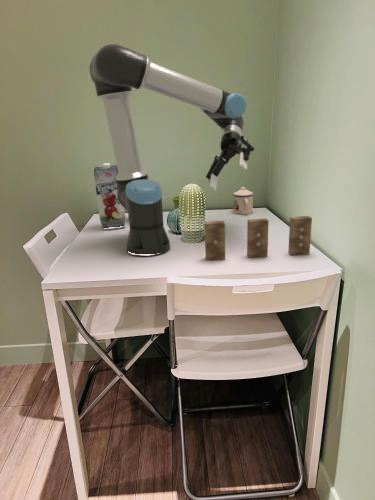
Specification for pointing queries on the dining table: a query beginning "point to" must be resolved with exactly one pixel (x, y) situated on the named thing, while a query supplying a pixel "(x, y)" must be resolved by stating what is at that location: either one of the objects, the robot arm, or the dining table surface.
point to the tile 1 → (215, 240)
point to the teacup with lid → (243, 201)
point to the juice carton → (108, 196)
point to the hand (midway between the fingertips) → (227, 178)
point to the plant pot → (176, 201)
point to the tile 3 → (300, 235)
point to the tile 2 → (257, 238)
